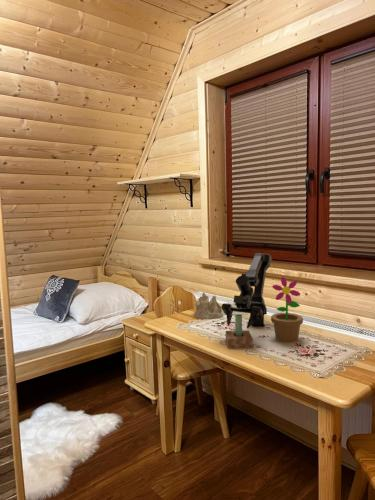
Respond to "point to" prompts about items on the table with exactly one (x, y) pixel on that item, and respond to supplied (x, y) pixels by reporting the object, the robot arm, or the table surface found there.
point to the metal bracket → (234, 311)
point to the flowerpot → (286, 314)
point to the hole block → (239, 340)
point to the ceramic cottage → (208, 308)
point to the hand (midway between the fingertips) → (237, 326)
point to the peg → (238, 325)
